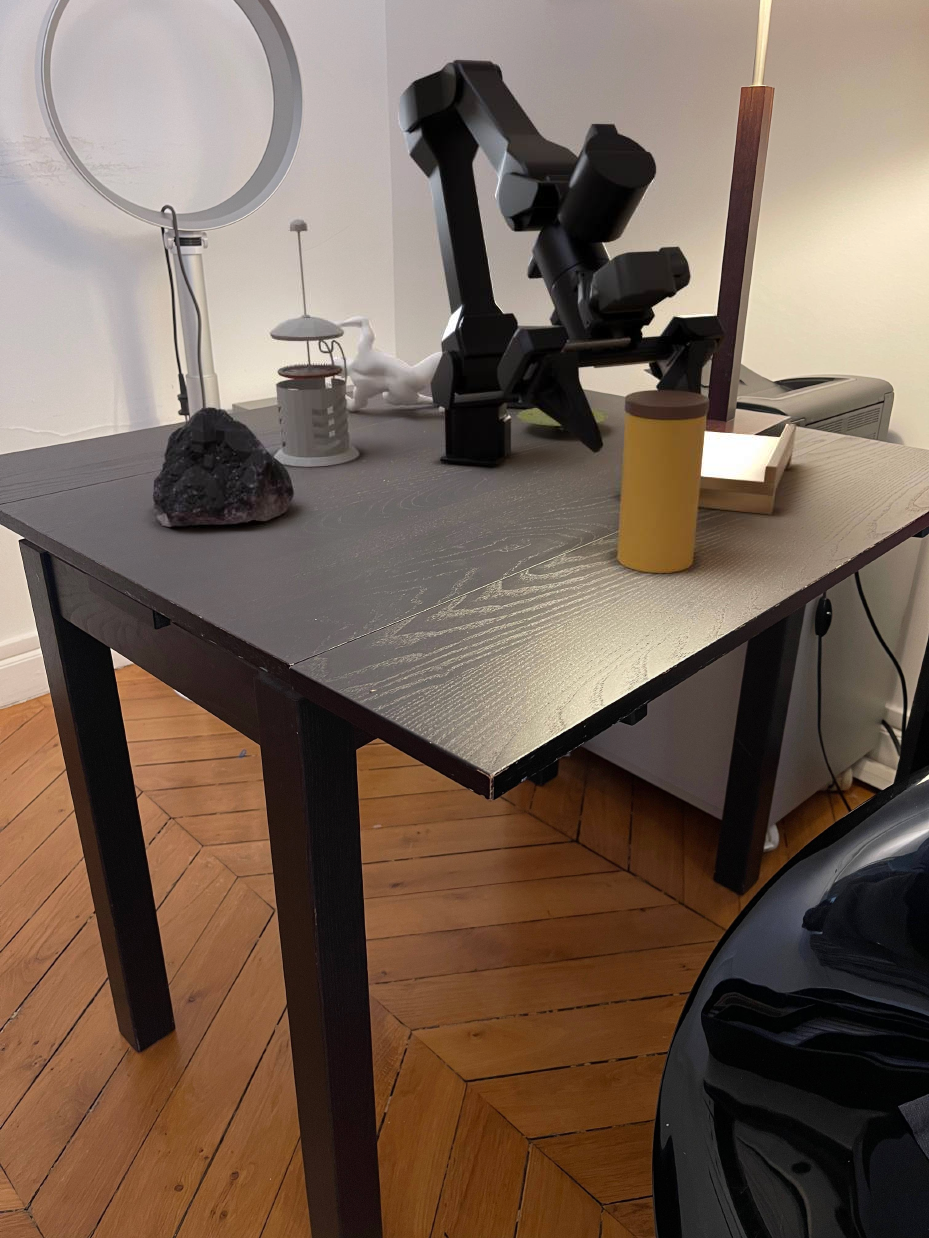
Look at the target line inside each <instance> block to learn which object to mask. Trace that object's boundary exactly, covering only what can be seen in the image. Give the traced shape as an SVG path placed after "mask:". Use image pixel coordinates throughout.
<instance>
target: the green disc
mask: <svg viewBox="0 0 929 1238" xmlns="http://www.w3.org/2000/svg"><path fill="white" fill-rule="evenodd" d="M590 408H591V407H590ZM591 410H592V412H593V415H594V417H595V420H596V422H597V424H598V423H601V422H603V421H604V422H605V421H606V420H607V419H608V418H609V416H608V413H606V412H605V411H603V410H598V409H595V408H591ZM516 417H517V419H519V420H521V421H523V422H526V423H530V424H534V425H542V426H554V429H559V430H560V431H564V430H565V428H564V427H563V426H561V425H560V424H559V423H558V422H556V421H555V420H554V419H552V418H551V417H549V416H548V415H546V414H545V413H543V412H542V411H541V410H539V409H538V408H526V409H524V410H521V411H520V412H518V414H517V415H516Z"/></svg>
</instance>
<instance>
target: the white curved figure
mask: <svg viewBox="0 0 929 1238" xmlns="http://www.w3.org/2000/svg"><path fill="white" fill-rule="evenodd" d="M331 322H332V323H334V324H335V325H337V326H338V327H340V328H341V329H343V328H358V329H359V328H360V333H359V334H360V338H359V340H358V341H357V344H356V349H357V354H356V356H355V357H354V358H353V359H352V358H349V357H345V359H346V368H347V377H348V376H349V377H350V380H351V381H352V384H353V385H354V387H353V390H352V398H351V397H350V396H348V395H347V394H345V399H347V406H346V410H347V411H350V412H352V413H354V412H357V411H359V410H360V409H363V408H366V407H367V406H368V403H369V399H371V398H374V397H376V396H377V395H380V394H382V398H383V400H384V402H386V403H387V404H390V405H392V406H406V407H407V406H419V405H432V406H438V405H437V404H435V403H433V399H432V396H427V395H424V394H420V392H421V391H424V390H425V389H426V388H428V387H429V386H431V381H432V379H433V376H434V374H435V371H436V369H437V366H438V364H439V361H440V359H441V356H442V351H437V352H434V353H432V354H431V355H429V356H427V357H426V358H424V359H423V360H421V361H420V362H418V363H417V364H414V365H412V366H411V365H408V363H406V362H405V361H403V360H401V359H400V358H398V357H396V356H394V355H391V354H388V353H385V352H381V351H380V350H379V349H378V348H375V346H374V343H375V341H376V338H377V334H376V331H375V330H374V328H373V326H372V323H371V318H369V317H366V316H362V315H358V316H353V317H352V316H351V317H350V318H348V319H344V320H340V321H331ZM333 360H334V365H337V366H340V367H341V368H342V372H341V373H339V374H338V375H336V376H337V377H340V379H345V369H344V359H343V356H336V357H333ZM329 364H330V365H331V364H332V361H331V360H330V361H329V362H328V365H329ZM325 384H326V389H327V388H332V386H331V381H325ZM438 411H439V413H441V414H445V408H443V407H441V406H439V407H438Z"/></svg>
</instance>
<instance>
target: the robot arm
mask: <svg viewBox="0 0 929 1238" xmlns="http://www.w3.org/2000/svg"><path fill="white" fill-rule="evenodd" d="M397 106H398V107H397V117H398V124H399V127H400V130H401V131H402V132H403V134H404V138H405V144H406V147H407V151H408V154H409V157H410V158H411V159H412V160H413V162H414V163H415V164H416V166H418V168H419V169H420V170H421V172H423V174H424V175H425V176H426V177H427V179H428V183H429V189H430V194H431V200H432V206H433V213H434V220H435V224H436V225H435V226H436V230H437V236H438V244H439V248H440V254H441V260H442V266H443V271H444V279H445V284H446V289H447V295H448V302H449V309H450V317H449V320H448V323H447V326H446V328H445V330H444V333H443V336H442V338H441V342H440V345H441V352H442V356H441V359H440V361H439V364H438V366H437V369H436V371H435V374H434V376H433V379H432V381H431V384H430V390H431V397H432V399H433V403H435V404H437V405H436V406H439V407H440V406H441V407H443V408H445V413H444V443H445V445H444V447H445V448H444V449H445V453H444V454H443V455H441V456H440V457H439V461H440V462H441V463H448V464H449V463H450V464H462V465H477V466H486V467H488V466H489V467H495V466H497V465H498V464H500V463H501V462H502V461H503V460H504V459H505V458H506V457H508V456H509V455H510V454H511V453H512V417H511V416H510V415H508V414H507V408H508V407H507V403H518V402H519V398H520V399H521V402H522V403H523V404H525V405H527V404H531V405H533V406H535V407H536V408H538V409H539V410H541V411H542V412H543V413H545V414H546V415H548V416H549V417H551V418H552V419H554V420H555V421H556V422H558V423H559V424H560V425H561V426H563V427H564V430H566V431H567V432H569V434H571V435H572V436H573V437H575V439H577V440H579V442H580V443H582V444H583V445H584V446H585V447H586V448H587V449H589V450H590V451H591V452H592V453H594V454H596V453H600V451H601V450H602V448H603V447H604V442H603V441H604V440H603V438H602V435H601V431H600V428H599V424H598V423H597V422H596V420H595V417H594V415H593V412H592V410H591V406H590V403H589V400H588V398H587V395H586V393H585V391H584V389H583V385H582V383H581V380H580V371H579V370H580V369H582V368H591V367H593V368H594V369H602V368H612V367H613V368H614V367H625V366H633V365H645V364H648V367H649V369H650V371H651V374H652V376H653V377H655V378H656V379H658V381H659V382H658V383H657V384H656V385H655V389H656V390H677V391H687V392H694V393H698V394H702V379H703V378H702V377H703V368H704V367H705V366H706V365H707V363H708V362H709V361H710V359H711V358H712V357H713V356H714V355H715V353H716V352H717V351H718V350H719V348H720V347H721V346H722V345H723V343H724V342H725V341H726V340H727V338H728V336H727V334H726V331H725V329H724V328H723V325H722V323H721V321H720V319H719V317H718V315H716V314H712V313H700V314H686V315H674V316H672V318H671V319H670V320H669V322H668V324H667V325H666V327H665V328H664V329H663V330H662V332H661V334H660V335H655V336H643V335H644V334H643V333H644V332H643V331H642V329H643V328H644V327H649V326H650V325H651V323H652V321H653V320H654V318H655V317H656V314H655V311H654V309H653V308H654V307H655V306H656V305H658V304H660V303H661V302H663V301H665V300H666V299H667V298H668V299H671V298H673V297H675V296H676V295H677V293H678V292H680V291H681V290H682V289H685V288H686V287H687V286H688V285H689V284H690V281H691V278H692V275H691V269H690V265H689V261H688V260H687V258H686V256H685V255H684V252H683V251H682V249H681V248H680V246H662V247H660V248H659V249H658V250H648V251H629V252H623V253H620V254H618V255H615V256H614V257H612V258H611V256H610V255H609V252H608V250H607V248H606V245H605V244H606V243H611V242H615V241H617V240H619V239H620V238H621V237H622V236H623V235H624V233H625V232H626V229H627V227H628V226H629V224H630V222H631V221H632V219H633V217H634V215H635V214H636V212H637V210H638V208H639V207H640V205H641V203H642V201H643V200H644V197H645V196H646V194H647V192H648V190H649V189H650V187H651V185H652V183H653V181H654V179H655V178H656V175H657V164H656V161H655V157H654V156H653V154H652V153H651V152H650V151H647V150H646V149H645V148H644V147H643V146H642V145H641V144H640V143H638V142H637V141H636V140H634V139H632V138H631V137H629V136H626V135H624V134H621V133H619V132H618V129H617V127H616V125H615V123H591V124H590V127H589V129H588V131H587V133H586V135H585V137H584V138H585V139H584V142H583V145H582V148H581V150H580V153H579V154H578V155H576V154H575V153H574V152H573V151H572V150H570V148H568V147H566V146H564V145H563V146H562V145H560V144H558V143H556V142H553V141H551V140H549V139H546V138H545V137H544V136H543V135H542V134H541V133H540V132H539V130H538V129H537V127H536V126H535V125H534V123H533V121H532V120H531V119H530V117H529V116H528V114H527V113H526V111H525V110H524V109H523V107H522V106H521V104H520V103H519V101H518V100H517V99H516V97H515V96H514V94H513V93H512V91H511V90H510V89H509V88H508V86H507V84H506V83H505V81H504V78H503V71H502V69H501V67H500V66H499V64H496V63H494V62H492V61H491V60H479V59H478V60H475V59H474V60H473V59H454V60H453V61H452V62H447V63H446V64H445V65H444V66H443V67H442V68H441V69H440V70H438V71H436V72H433V73H430V74H428V75H425V76H423V77H420V78H418V79H415V80H414V81H412V82H411V83H410V84H409V86H408V87H407V88H406V89H405V90H404V91H403V93H401V95H400V97H399V100H398V105H397ZM479 149H481V150H482V152H483V154H484V155H485V157H486V158H487V160H488V161H489V163H490V164H491V165H490V166H491V167H492V168H493V170H494V171H495V174H496V176H497V178H498V182H497V186H496V189H495V195H494V198H495V201H496V202H497V205H498V207H499V211H500V213H501V215H502V217H503V219H504V222H505V223H506V225H507V226H508V228H509V229H510V230H511V231H513V232H514V233H518V232H519V233H521V232H522V233H523V232H524V233H525V232H539V233H538V235H537V237H536V239H535V241H534V243H533V245H532V249H531V253H532V255H531V257H530V260H529V262H528V265H527V272H526V277H527V278H528V279H530V280H535V279H543V282H544V285H545V287H546V290H547V292H548V295H549V298H550V300H551V302H552V304H553V305H552V306H553V307H554V310H553V311H552V313H551V315H550V316H549V321H550V325H534V326H535V327H522V328H518V326H519V321H518V319H517V317H516V316H515V314H514V312H506V313H505V312H504V311H503V310H502V309H501V308H500V306H499V305H498V304H497V302H496V297H495V291H494V284H493V279H492V273H491V265H490V261H489V260H490V259H489V255H488V248H487V243H486V237H485V236H486V235H485V230H484V225H483V218H482V213H481V207H480V206H481V205H480V200H479V194H478V189H477V188H478V187H477V182H476V175H475V169H474V162H475V160H476V157H477V154H478V152H479Z"/></svg>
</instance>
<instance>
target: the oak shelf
mask: <svg viewBox="0 0 929 1238" xmlns="http://www.w3.org/2000/svg"><path fill="white" fill-rule="evenodd" d="M796 431H797V424H795V423H786V424H785V427H784V428H783V431H782V433H781V435H780V436H767V435H755V434H742V433H728V432H714V431H705V438H704V449H703V459H702V470H701V480H700V491H699V502H698V508H705V509H714V510H724V511H733V512H740V513H741V512H742V513H751V514H758V515H759V514H761V515H772V513H773V510H774V506H775V505H774V504H775V497H776V491H777V488H778V485H779V484H780V481H781V479H782V476H783V474H784V472H785V470H790V469H791V466H792V459H793V453H794V447H795V437H796Z"/></svg>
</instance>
